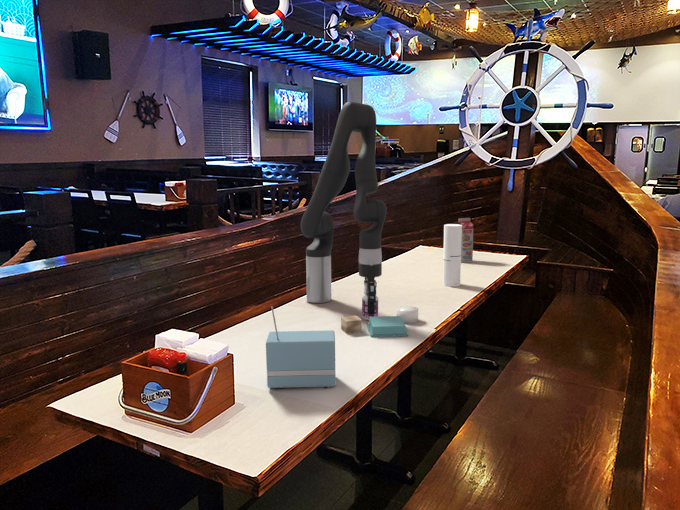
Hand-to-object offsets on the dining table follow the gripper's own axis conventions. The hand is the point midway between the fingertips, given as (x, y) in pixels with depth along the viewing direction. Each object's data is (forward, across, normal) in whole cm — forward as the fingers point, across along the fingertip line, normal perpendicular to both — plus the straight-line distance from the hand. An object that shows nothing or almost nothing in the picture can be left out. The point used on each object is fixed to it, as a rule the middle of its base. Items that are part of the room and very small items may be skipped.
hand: (370, 311), depth 178 cm
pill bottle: (+3, 0, 0) cm, 3 cm away
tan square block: (+3, +12, -7) cm, 14 cm away
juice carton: (+3, -93, +56) cm, 109 cm away
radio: (+3, +50, -21) cm, 54 cm away
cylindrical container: (+3, -44, +38) cm, 58 cm away
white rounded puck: (+3, +3, +12) cm, 13 cm away
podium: (+3, +13, +4) cm, 14 cm away
